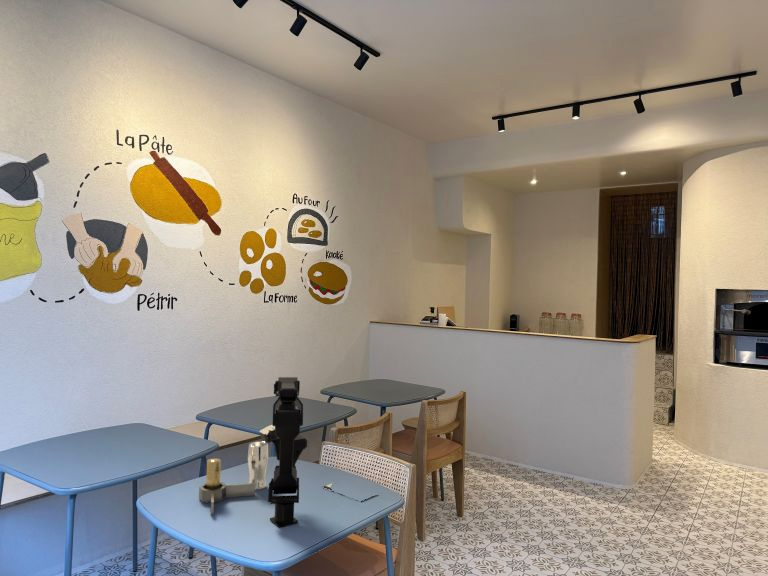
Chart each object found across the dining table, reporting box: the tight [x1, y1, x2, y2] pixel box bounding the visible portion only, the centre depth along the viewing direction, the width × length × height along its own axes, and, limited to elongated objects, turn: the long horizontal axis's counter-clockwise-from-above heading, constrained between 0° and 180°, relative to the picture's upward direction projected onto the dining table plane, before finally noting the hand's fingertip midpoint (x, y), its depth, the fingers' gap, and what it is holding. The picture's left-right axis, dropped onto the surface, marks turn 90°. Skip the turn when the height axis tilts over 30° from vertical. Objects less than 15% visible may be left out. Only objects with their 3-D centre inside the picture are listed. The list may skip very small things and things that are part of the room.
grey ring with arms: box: [198, 481, 256, 516], centre depth 178 cm, size 17×18×4 cm
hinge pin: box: [205, 458, 222, 490], centre depth 179 cm, size 4×4×12 cm
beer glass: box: [247, 440, 269, 491], centre depth 191 cm, size 7×7×15 cm
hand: (285, 463), depth 176 cm, fingers open, 9 cm apart
